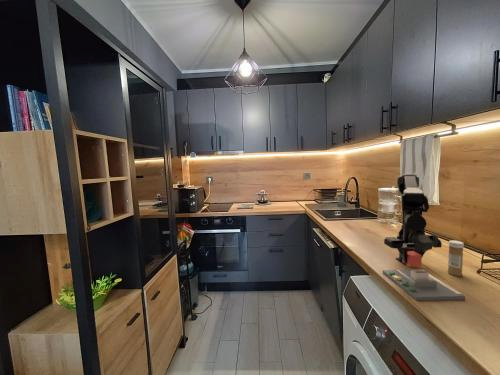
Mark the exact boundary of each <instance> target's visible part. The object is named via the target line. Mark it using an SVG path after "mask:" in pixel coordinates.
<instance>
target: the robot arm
mask: <svg viewBox="0 0 500 375" xmlns="http://www.w3.org/2000/svg"><path fill="white" fill-rule="evenodd" d="M419 187H420V177H418V176H417V174H415V173H404V174H402V176H400V177H397V179H396V188H397V189H398V191H397V192H398V193H399V195H400V196H401V197H400V199H401V200H400V202H401V204H400V205H401V219H402V220H401V224H402V225H401V228H400V230H399V231H398V232H397V235H396V236H389V237H388V236H386V237H385V238H384V239H383V242H384V245H385V246H388V247H389V248H391V249H396V250H397V252H398V257H395V260H397V261H399V263H402V265H406V264H407V252H408V251H414V252H416V253H418V254H420V255H422V257H421V260H422V259H423V256H424V255H425V253H427V251H431V250H432V249H433V248H442V246H443V244H442V243H443V242H442V241H441V240H440V238H439V237H438V236H437V235H436V234H426V231H425V228H426V227H427V220H426V218H424V216H423V213H428V210H429V209H430V205H429V199H428V196H427V195H425V193H424V191H423V190H422V189H419ZM402 260H403V262H404V263H403V262H402Z"/></svg>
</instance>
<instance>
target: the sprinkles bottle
mask: <svg viewBox="0 0 500 375" xmlns="http://www.w3.org/2000/svg"><path fill="white" fill-rule="evenodd" d="M464 248H465V243H464V242H463V241H460V240H453V239H452V240H449V241H448V259H447V260H448V261H447V265H448V267H447V273H448V274H449V275H451V276H455V277H461V276H463V266H464V265H463V264H464V260H463V259H464V258H463V257H464Z"/></svg>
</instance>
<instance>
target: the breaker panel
mask: <svg viewBox="0 0 500 375" xmlns="http://www.w3.org/2000/svg"><path fill="white" fill-rule="evenodd" d="M411 270H412V269H386V270H385V269H383V270H382V274H383V275H384V276H386V277H387V278H388V279H390V281H392V282H393V283H394V284H395V285H396V286H398V287H399V288H400V289H401V290H403V291H404V292H405V293H406V294H408V295H409V296H410V297H411V298H413V299H414V300H415V301H446V300H447V301H454V300H455V301H456V300H459V301H461V300H463V301H464V300H466V296H465V295H464V294H462V293H461V292H460V291H457V290H456V289H455V288H453V287H452V286H450V285H449V284H447V283H444V282H443V281H441V280H440V279H438V278H436V277H435V276H433V275H432V274H430V273H429V275H428V280H415V281H414V280H412V279H411Z"/></svg>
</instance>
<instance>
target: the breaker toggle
mask: <svg viewBox="0 0 500 375" xmlns="http://www.w3.org/2000/svg"><path fill="white" fill-rule="evenodd" d="M410 270H411V279H412V280H414V281H415V280H428V275H429V274H430V273H429V272H427V270H425V269H423V268H422V269H421V268H420V269H410Z"/></svg>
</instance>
